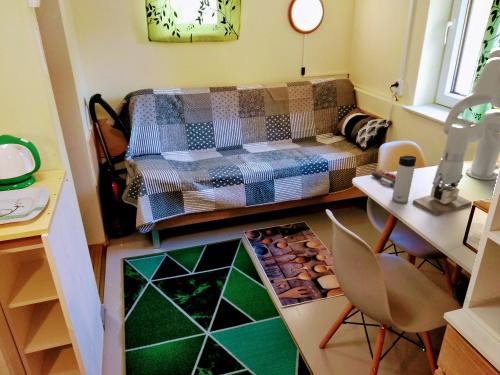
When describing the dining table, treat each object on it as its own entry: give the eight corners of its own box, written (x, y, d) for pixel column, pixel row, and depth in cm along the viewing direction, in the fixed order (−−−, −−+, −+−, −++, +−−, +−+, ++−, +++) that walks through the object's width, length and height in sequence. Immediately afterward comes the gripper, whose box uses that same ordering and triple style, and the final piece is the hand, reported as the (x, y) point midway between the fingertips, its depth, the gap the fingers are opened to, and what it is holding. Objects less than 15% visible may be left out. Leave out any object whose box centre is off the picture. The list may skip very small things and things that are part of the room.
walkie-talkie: (368, 178, 182) (403, 194, 167) (369, 169, 180) (405, 185, 165) (380, 173, 186) (416, 189, 171) (381, 165, 184) (418, 180, 169)
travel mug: (400, 205, 157) (408, 160, 148) (388, 198, 162) (396, 154, 154) (411, 202, 159) (420, 158, 150) (400, 195, 165) (408, 152, 156)
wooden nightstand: (441, 193, 161) (444, 182, 159) (456, 200, 155) (459, 188, 153) (430, 196, 158) (432, 185, 156) (444, 204, 153) (447, 192, 150)
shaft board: (446, 193, 167) (450, 175, 163) (471, 205, 157) (476, 186, 153) (412, 203, 159) (416, 184, 155) (436, 216, 149) (441, 197, 145)
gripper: (460, 149, 155) (450, 188, 163) (429, 156, 148) (421, 197, 156) (477, 155, 149) (466, 195, 157) (446, 163, 142) (436, 205, 150)
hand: (443, 196), depth 156 cm, fingers closed on wooden nightstand, 7 cm apart
